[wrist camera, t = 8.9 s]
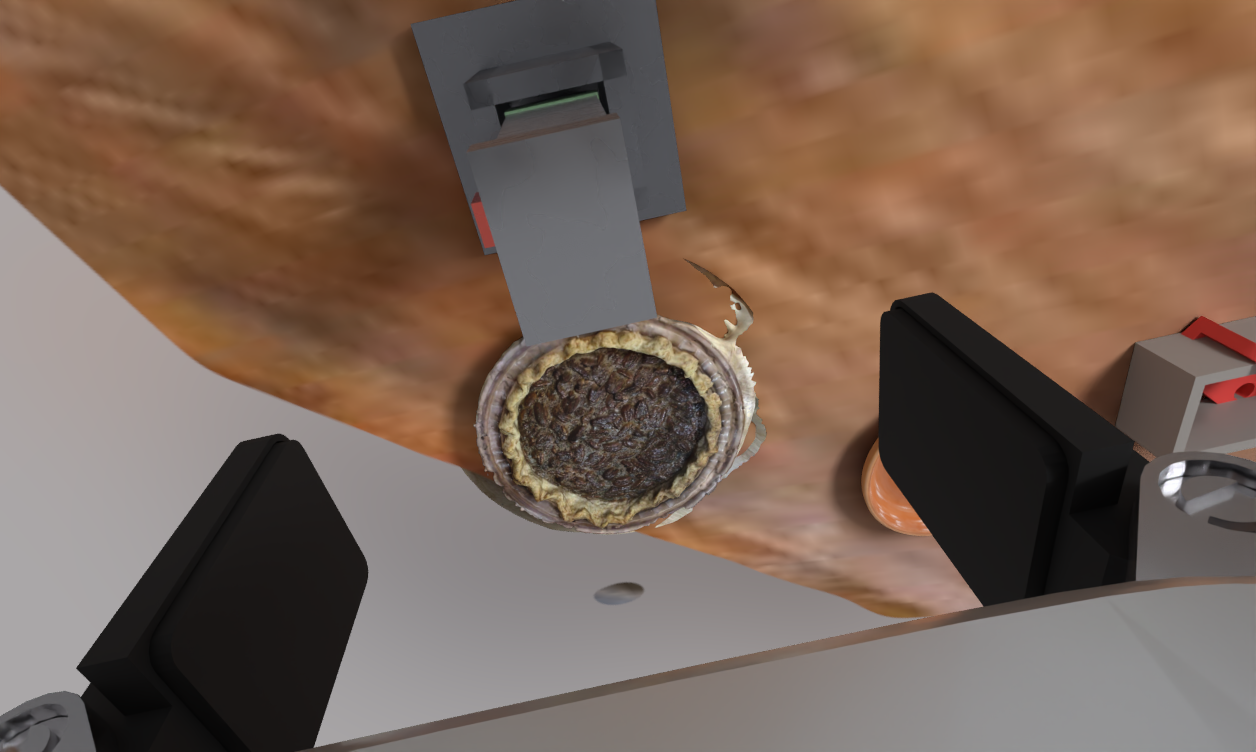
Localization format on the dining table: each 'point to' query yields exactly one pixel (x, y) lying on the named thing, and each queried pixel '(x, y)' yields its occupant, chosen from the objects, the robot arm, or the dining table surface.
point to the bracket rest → (1188, 395)
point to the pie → (616, 423)
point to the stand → (556, 83)
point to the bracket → (1235, 342)
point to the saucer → (888, 498)
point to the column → (564, 218)
